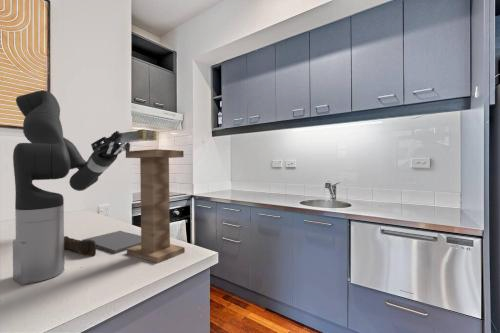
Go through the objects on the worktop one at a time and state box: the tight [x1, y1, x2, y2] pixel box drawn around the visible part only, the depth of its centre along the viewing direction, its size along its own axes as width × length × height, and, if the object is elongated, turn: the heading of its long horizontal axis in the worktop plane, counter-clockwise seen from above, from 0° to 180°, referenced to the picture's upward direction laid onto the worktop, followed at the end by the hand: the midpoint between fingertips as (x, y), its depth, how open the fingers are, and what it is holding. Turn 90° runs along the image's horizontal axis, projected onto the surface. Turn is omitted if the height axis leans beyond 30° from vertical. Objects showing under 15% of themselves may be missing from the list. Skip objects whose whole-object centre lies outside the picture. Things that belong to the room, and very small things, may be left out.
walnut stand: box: [125, 148, 186, 264], centre depth 76 cm, size 10×15×32 cm, turn 58°
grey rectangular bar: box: [110, 129, 158, 143], centre depth 83 cm, size 5×20×3 cm, turn 58°
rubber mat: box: [82, 230, 141, 255], centre depth 88 cm, size 14×22×1 cm, turn 58°
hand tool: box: [64, 235, 97, 257], centre depth 78 cm, size 19×4×5 cm, turn 60°
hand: (123, 133), depth 85 cm, fingers closed on grey rectangular bar, 3 cm apart
